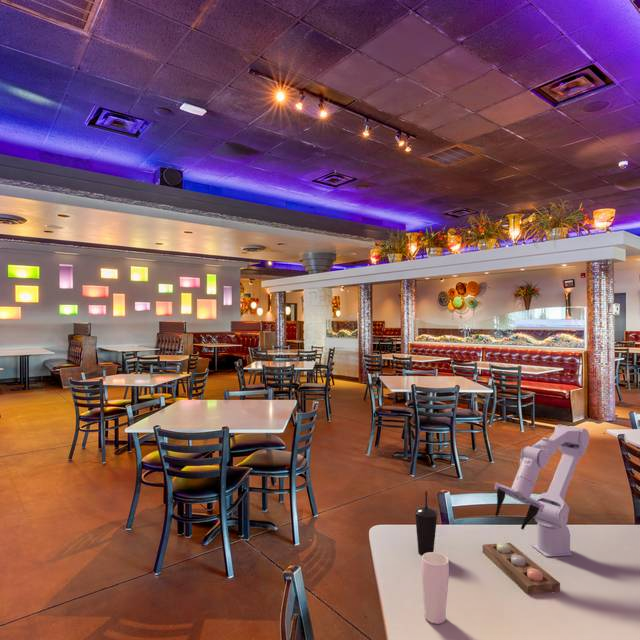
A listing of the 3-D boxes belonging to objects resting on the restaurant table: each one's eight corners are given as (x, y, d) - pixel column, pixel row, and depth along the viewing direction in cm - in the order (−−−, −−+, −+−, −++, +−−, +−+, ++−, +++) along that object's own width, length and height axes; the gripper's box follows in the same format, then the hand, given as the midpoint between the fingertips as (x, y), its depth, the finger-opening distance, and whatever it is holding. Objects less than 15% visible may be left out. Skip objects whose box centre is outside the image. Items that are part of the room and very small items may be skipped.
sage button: (505, 550, 146) (505, 542, 146) (512, 556, 142) (512, 548, 142) (494, 550, 146) (494, 542, 146) (501, 557, 142) (501, 548, 142)
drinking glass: (417, 610, 116) (418, 552, 116) (442, 609, 116) (443, 551, 117) (425, 627, 109) (426, 565, 109) (452, 626, 110) (453, 564, 110)
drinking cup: (422, 545, 151) (422, 485, 152) (442, 553, 146) (442, 491, 147) (409, 552, 146) (409, 491, 147) (429, 561, 141) (430, 497, 141)
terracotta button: (536, 576, 131) (536, 567, 131) (545, 584, 127) (545, 575, 127) (524, 577, 130) (524, 568, 130) (532, 585, 126) (533, 576, 126)
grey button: (520, 562, 138) (520, 554, 139) (528, 569, 135) (528, 560, 135) (508, 563, 138) (508, 555, 138) (516, 570, 134) (516, 561, 134)
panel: (510, 550, 149) (510, 542, 149) (560, 592, 125) (560, 582, 125) (482, 552, 147) (482, 544, 147) (527, 594, 123) (527, 585, 124)
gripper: (501, 466, 141) (485, 506, 136) (550, 489, 134) (535, 531, 128) (501, 474, 147) (485, 512, 141) (548, 495, 139) (533, 537, 134)
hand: (509, 521), depth 135 cm, fingers open, 7 cm apart
